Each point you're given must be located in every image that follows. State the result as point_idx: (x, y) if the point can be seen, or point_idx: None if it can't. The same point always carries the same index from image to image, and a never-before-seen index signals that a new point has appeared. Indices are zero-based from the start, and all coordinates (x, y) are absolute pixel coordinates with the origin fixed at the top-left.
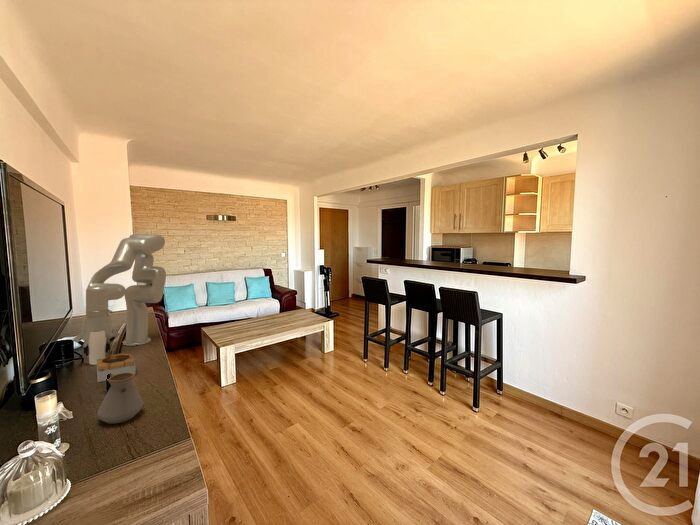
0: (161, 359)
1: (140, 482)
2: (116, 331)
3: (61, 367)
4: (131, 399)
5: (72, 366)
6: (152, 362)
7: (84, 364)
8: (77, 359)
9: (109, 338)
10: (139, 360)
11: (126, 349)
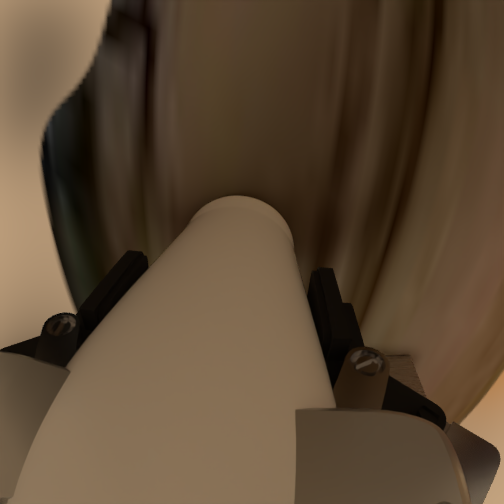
0: (497, 374)
1: None
2: (483, 500)
3: (47, 188)
4: None
5: (95, 208)
6: (458, 392)
7: (158, 211)
8: (115, 42)
9: (382, 400)
10: (449, 343)
11: (477, 19)
